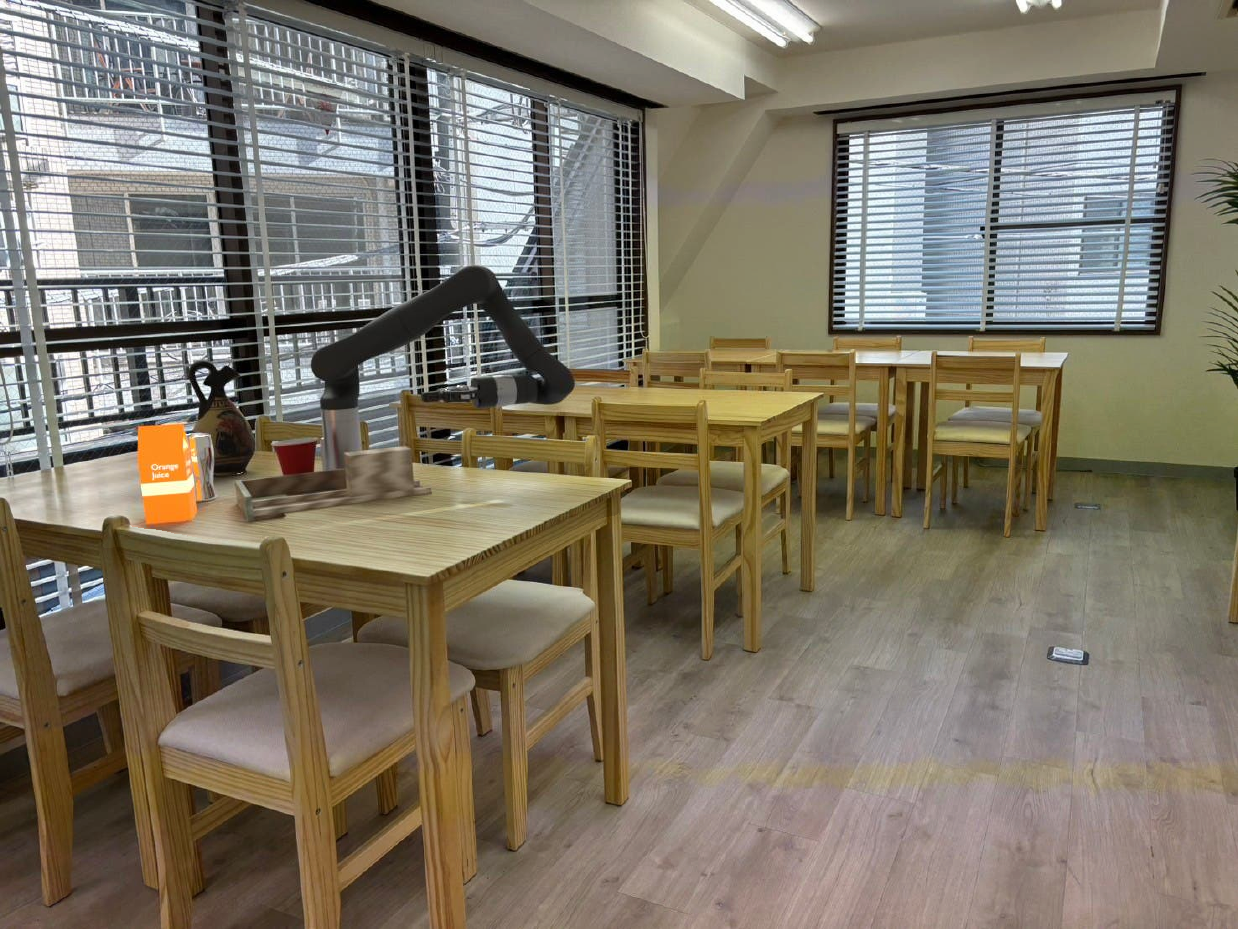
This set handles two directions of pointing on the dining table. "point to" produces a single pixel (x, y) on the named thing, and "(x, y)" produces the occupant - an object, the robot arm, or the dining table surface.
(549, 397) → the robot arm
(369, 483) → the beech block
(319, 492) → the pads
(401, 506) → the dining table surface
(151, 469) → the orange juice
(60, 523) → the dining table surface
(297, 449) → the plastic cup
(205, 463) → the beer glass
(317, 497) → the board
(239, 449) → the ceramic jug
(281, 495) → the pad
